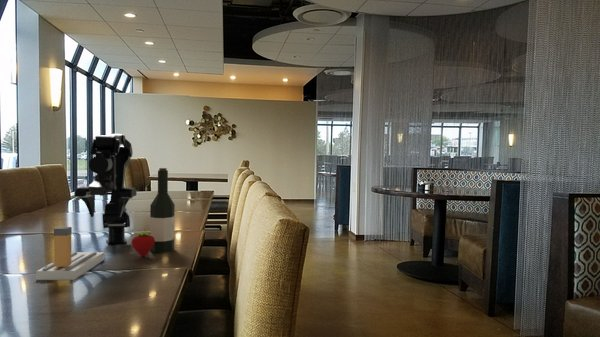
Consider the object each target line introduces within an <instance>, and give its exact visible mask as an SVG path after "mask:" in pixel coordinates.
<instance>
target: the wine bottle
mask: <svg viewBox="0 0 600 337" xmlns="http://www.w3.org/2000/svg"><path fill="white" fill-rule="evenodd" d="M167 169H168V168H166V167H159V169H158V170H157V194H156V195H155V198H154V199H153V200H152V202H151V204H150V208H149V209H150V211H149V212H150V215H149V216H150V217H149V218H150V220H149V222H150V223H149V224H150V225H149V227H150V231H149V233H152V234H149V235H151V236H153V237H154V239H155V242H154V245H153V247H152V249H151V250H150V251H149V252H151V253H153V254H167V253H171V252H173V251H174V250H175V211H176V210H175V209H176V208H175V206H176V205H175V203H174V201H173V200H172V198H171V196H170V194H169V193H168V191H169V189H168V188H169V187H168V186H169V185H168V184H169V183H168V182H169V170H167Z"/></svg>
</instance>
